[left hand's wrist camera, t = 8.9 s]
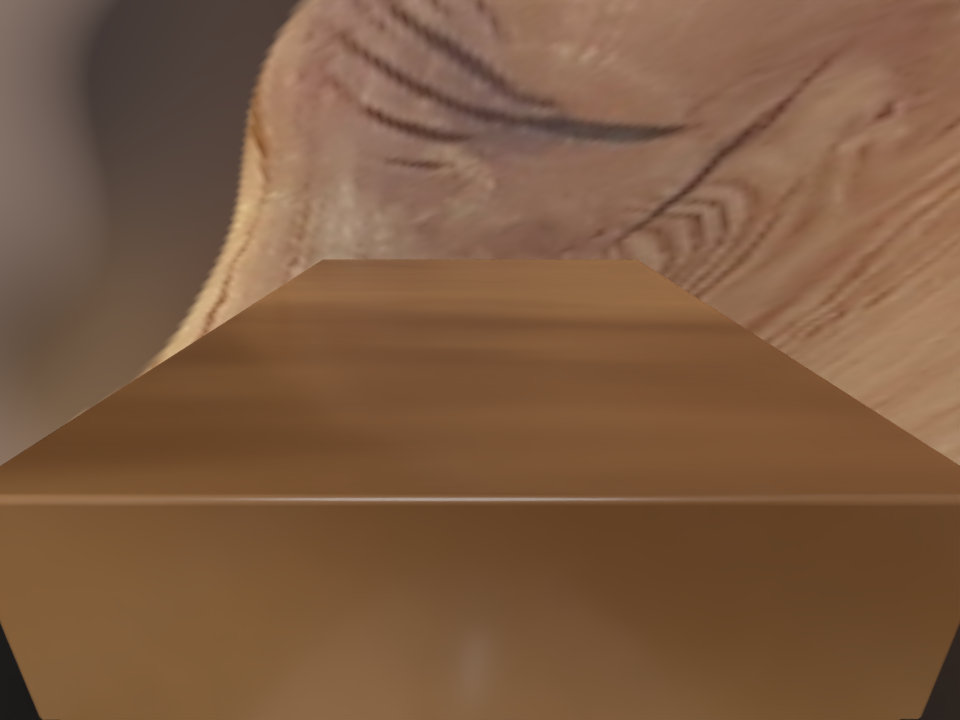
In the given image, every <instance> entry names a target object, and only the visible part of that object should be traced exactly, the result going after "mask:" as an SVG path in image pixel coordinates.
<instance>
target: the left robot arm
mask: <svg viewBox="0 0 960 720" xmlns="http://www.w3.org/2000/svg"><path fill="white" fill-rule="evenodd" d="M0 720H43V719H41V718H40V717H39V715H38V713H37V710H36V708H35V706H34V703H33V701H32V698H31V696H30V694H29V691H28V689H27V686H26V684H25V681H24V679H23V677H22V674H21V672H20V669H19V667H18V665H17V662H16V660H15V657H14V655H13V653H12V650H11V648H10V645H9V643H8V641H7V638H6V636H5V633H4V631H3V629H2V626H1V624H0ZM900 720H960V625H959V628H958V630H957V633H956V635H955V637H954V640H953V642H952V645H951V647H950V650H949V652H948V654H947V657H946V659H945V662H944V664H943V666H942V669H941V671H940V674H939V676H938V678H937V681H936V683H935V686H934V688H933V690H932V693H931V695H930V698H929V700H928V702H927V705H926V707H925V710H924V712H923V714H922V717H920V718H919V719H900Z"/></svg>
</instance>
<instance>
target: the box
mask: <svg viewBox="0 0 960 720" xmlns="http://www.w3.org/2000/svg"><path fill="white" fill-rule="evenodd" d="M0 624H1V626H2V629H3V631H4V633H5V636H6V638H7V641H8V643H9V645H10V648H11V650H12V653H13V655H14V657H15V660H16V662H17V665H18V667H19V669H20V672H21V674H22V677H23V679H24V681H25V684H26V686H27V689H28V691H29V694H30V696H31V698H32V701H33V703H34V706H35V708H36V710H37V713H38V715H39V717H40V718H41V719H43V720H900V719H919V718H920V717H922V714H923V712H924V710H925V707H926V705H927V702H928V700H929V698H930V695H931V693H932V690H933V688H934V686H935V683H936V681H937V678H938V676H939V674H940V671H941V669H942V666H943V664H944V662H945V659H946V657H947V654H948V652H949V650H950V647H951V645H952V642H953V640H954V637H955V635H956V633H957V630H958V628H959V625H960V465H958V464H956V463H955V462H953V461H952V460H950V459H949V458H947V457H946V456H944V455H942V454H941V453H939V452H938V451H936V450H935V449H933V448H931V447H930V446H928V445H927V444H925V443H924V442H922V441H920V440H919V439H917V438H916V437H914V436H913V435H911V434H909V433H908V432H906V431H905V430H903V429H902V428H900V427H899V426H897V425H895V424H894V423H892V422H891V421H889V420H888V419H886V418H884V417H883V416H881V415H880V414H878V413H877V412H875V411H873V410H872V409H870V408H869V407H867V406H866V405H864V404H863V403H861V402H859V401H858V400H856V399H855V398H853V397H852V396H850V395H848V394H847V393H845V392H844V391H842V390H841V389H839V388H837V387H836V386H834V385H833V384H831V383H830V382H828V381H826V380H825V379H823V378H822V377H820V376H819V375H817V374H816V373H814V372H812V371H811V370H809V369H808V368H806V367H805V366H803V365H801V364H800V363H798V362H797V361H795V360H794V359H792V358H790V357H789V356H787V355H786V354H784V353H783V352H781V351H779V350H778V349H776V348H775V347H773V346H772V345H770V344H769V343H767V342H765V341H764V340H762V339H761V338H759V337H758V336H756V335H754V334H753V333H751V332H750V331H748V330H747V329H745V328H743V327H742V326H740V325H739V324H737V323H736V322H734V321H732V320H731V319H729V318H728V317H726V316H725V315H723V314H722V313H720V312H718V311H717V310H715V309H714V308H712V307H711V306H709V305H707V304H706V303H704V302H703V301H701V300H700V299H698V298H696V297H695V296H693V295H692V294H690V293H689V292H687V291H686V290H684V289H682V288H681V287H679V286H678V285H676V284H675V283H673V282H671V281H670V280H668V279H667V278H665V277H664V276H662V275H660V274H659V273H657V272H656V271H654V270H653V269H651V268H649V267H648V266H646V265H645V264H643V263H642V262H640V261H639V260H322V261H320V262H319V263H317V264H316V265H314V266H312V267H311V268H309V269H308V270H306V271H305V272H303V273H302V274H300V275H298V276H297V277H295V278H294V279H292V280H291V281H289V282H287V283H286V284H284V285H283V286H281V287H280V288H278V289H277V290H275V291H273V292H272V293H270V294H269V295H267V296H266V297H264V298H262V299H261V300H259V301H258V302H256V303H255V304H253V305H251V306H250V307H248V308H247V309H245V310H244V311H242V312H241V313H239V314H237V315H236V316H234V317H233V318H231V319H230V320H228V321H226V322H225V323H223V324H222V325H220V326H219V327H217V328H216V329H214V330H212V331H211V332H209V333H208V334H206V335H205V336H203V337H201V338H200V339H198V340H197V341H195V342H194V343H192V344H190V345H189V346H187V347H186V348H184V349H183V350H181V351H180V352H178V353H176V354H175V355H173V356H172V357H170V358H169V359H167V360H165V361H164V362H162V363H161V364H159V365H158V366H156V367H155V368H153V369H151V370H150V371H148V372H147V373H145V374H144V375H142V376H140V377H139V378H137V379H136V380H134V381H133V382H131V383H129V384H128V385H126V386H125V387H123V388H122V389H120V390H119V391H117V392H115V393H114V394H112V395H111V396H109V397H108V398H106V399H104V400H103V401H101V402H100V403H98V404H97V405H95V406H94V407H92V408H90V409H89V410H87V411H86V412H84V413H83V414H81V415H79V416H78V417H76V418H75V419H73V420H72V421H70V422H68V423H67V424H65V425H64V426H62V427H61V428H59V429H58V430H56V431H54V432H53V433H51V434H50V435H48V436H47V437H45V438H43V439H42V440H40V441H39V442H37V443H36V444H34V445H33V446H31V447H29V448H28V449H26V450H25V451H23V452H22V453H20V454H19V455H17V456H15V457H14V458H12V459H11V460H9V461H8V462H6V463H4V464H3V465H1V466H0Z"/></svg>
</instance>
